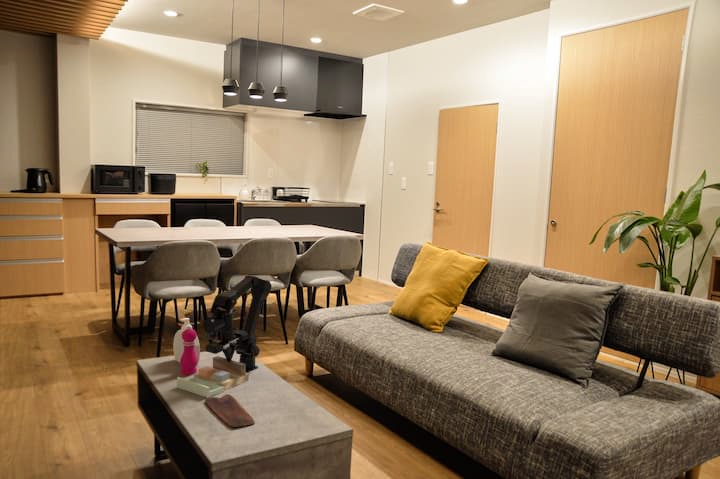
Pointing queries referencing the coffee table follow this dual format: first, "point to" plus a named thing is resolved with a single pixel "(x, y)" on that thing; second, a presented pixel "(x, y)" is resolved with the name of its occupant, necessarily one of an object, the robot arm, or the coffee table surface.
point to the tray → (199, 387)
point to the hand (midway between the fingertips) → (229, 361)
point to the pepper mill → (189, 352)
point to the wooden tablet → (230, 410)
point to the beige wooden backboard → (228, 383)
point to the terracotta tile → (206, 371)
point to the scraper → (229, 366)
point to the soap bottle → (178, 342)
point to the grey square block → (221, 376)
